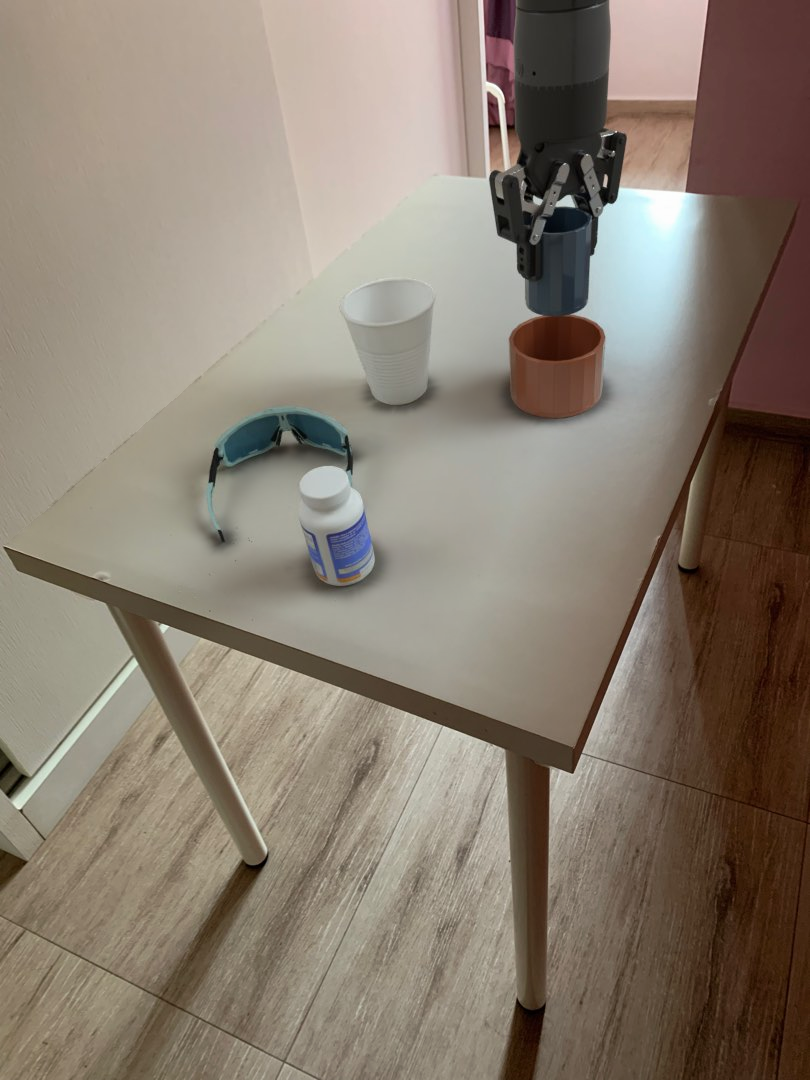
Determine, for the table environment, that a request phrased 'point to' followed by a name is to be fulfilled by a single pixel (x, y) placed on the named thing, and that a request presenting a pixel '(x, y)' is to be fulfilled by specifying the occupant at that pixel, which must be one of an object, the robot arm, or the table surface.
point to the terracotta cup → (556, 365)
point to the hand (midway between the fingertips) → (557, 265)
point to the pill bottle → (335, 527)
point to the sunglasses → (276, 440)
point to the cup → (392, 335)
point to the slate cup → (562, 264)
